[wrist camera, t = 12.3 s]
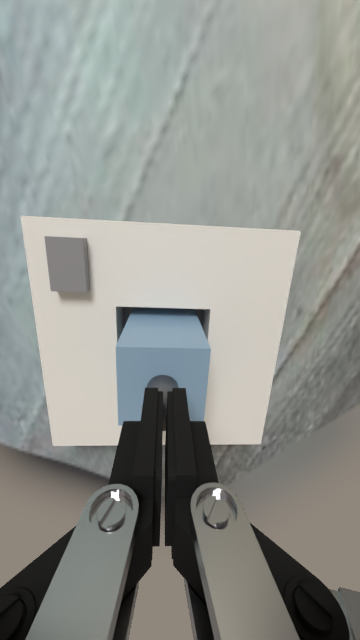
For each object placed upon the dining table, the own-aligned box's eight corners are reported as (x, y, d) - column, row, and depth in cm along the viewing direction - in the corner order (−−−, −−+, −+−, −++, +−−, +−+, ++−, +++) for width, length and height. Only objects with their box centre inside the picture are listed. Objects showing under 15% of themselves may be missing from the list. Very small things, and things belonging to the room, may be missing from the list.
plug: (194, 309, 19) (219, 369, 10) (190, 362, 20) (210, 456, 11) (133, 307, 18) (106, 368, 10) (134, 362, 20) (110, 457, 11)
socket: (278, 232, 18) (308, 230, 14) (248, 418, 23) (264, 452, 19) (45, 219, 17) (12, 214, 13) (67, 418, 22) (48, 454, 18)
